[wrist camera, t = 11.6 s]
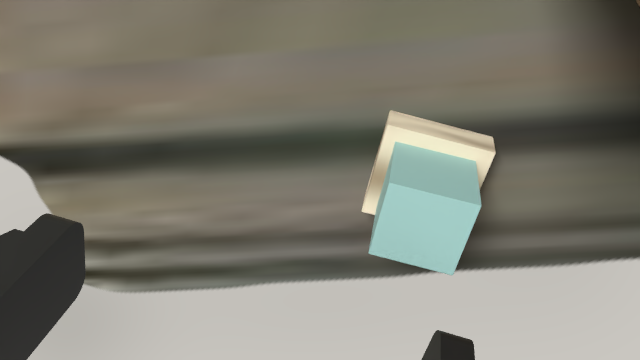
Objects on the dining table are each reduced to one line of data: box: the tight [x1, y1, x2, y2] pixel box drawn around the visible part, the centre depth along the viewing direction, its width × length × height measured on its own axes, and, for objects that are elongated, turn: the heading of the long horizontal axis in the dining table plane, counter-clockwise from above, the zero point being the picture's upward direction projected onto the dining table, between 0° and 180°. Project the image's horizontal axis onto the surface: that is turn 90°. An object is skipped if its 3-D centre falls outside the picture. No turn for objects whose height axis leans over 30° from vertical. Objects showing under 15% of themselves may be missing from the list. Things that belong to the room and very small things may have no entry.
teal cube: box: [368, 141, 481, 275], centre depth 39 cm, size 6×6×6 cm
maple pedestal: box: [362, 110, 496, 215], centre depth 43 cm, size 8×8×3 cm
